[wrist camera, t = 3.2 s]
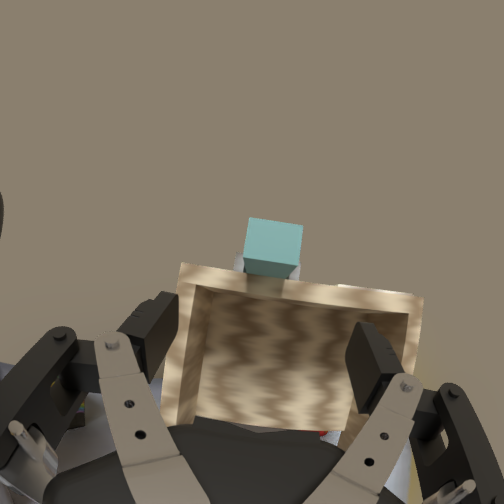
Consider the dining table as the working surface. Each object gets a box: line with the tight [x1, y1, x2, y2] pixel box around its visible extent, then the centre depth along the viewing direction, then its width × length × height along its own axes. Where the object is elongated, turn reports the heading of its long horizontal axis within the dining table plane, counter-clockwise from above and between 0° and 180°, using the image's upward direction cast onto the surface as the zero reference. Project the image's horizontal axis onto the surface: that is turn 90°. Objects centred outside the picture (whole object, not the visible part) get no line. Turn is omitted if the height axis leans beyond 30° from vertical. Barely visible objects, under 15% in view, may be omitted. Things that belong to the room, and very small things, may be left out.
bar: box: [243, 218, 303, 279], centre depth 31 cm, size 4×22×3 cm, turn 179°
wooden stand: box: [160, 252, 424, 451], centre depth 32 cm, size 28×14×34 cm, turn 89°
